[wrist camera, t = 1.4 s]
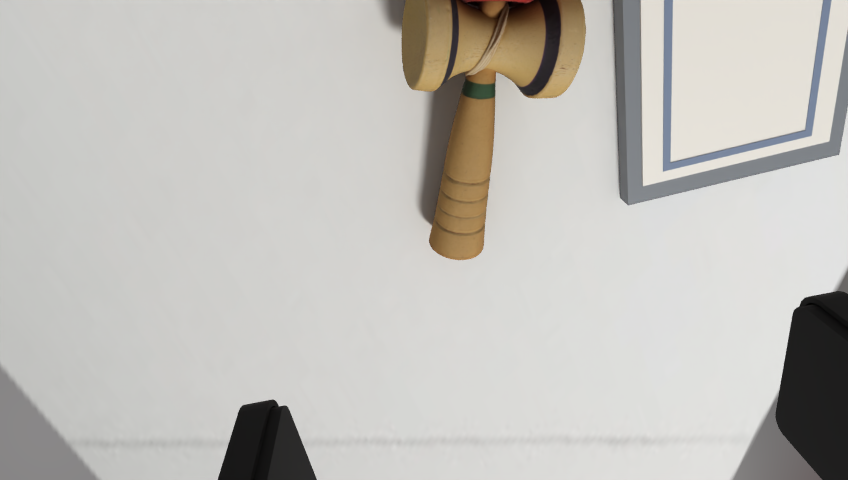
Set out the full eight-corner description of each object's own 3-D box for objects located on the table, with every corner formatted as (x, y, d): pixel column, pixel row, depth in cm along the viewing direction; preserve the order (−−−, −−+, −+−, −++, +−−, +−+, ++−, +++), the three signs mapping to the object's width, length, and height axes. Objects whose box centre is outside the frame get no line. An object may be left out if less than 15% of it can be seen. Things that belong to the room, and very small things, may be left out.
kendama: (525, 217, 32) (608, -155, 22) (535, 285, 27) (649, -160, 17) (396, 204, 32) (418, -173, 22) (381, 269, 27) (400, -183, 17)
